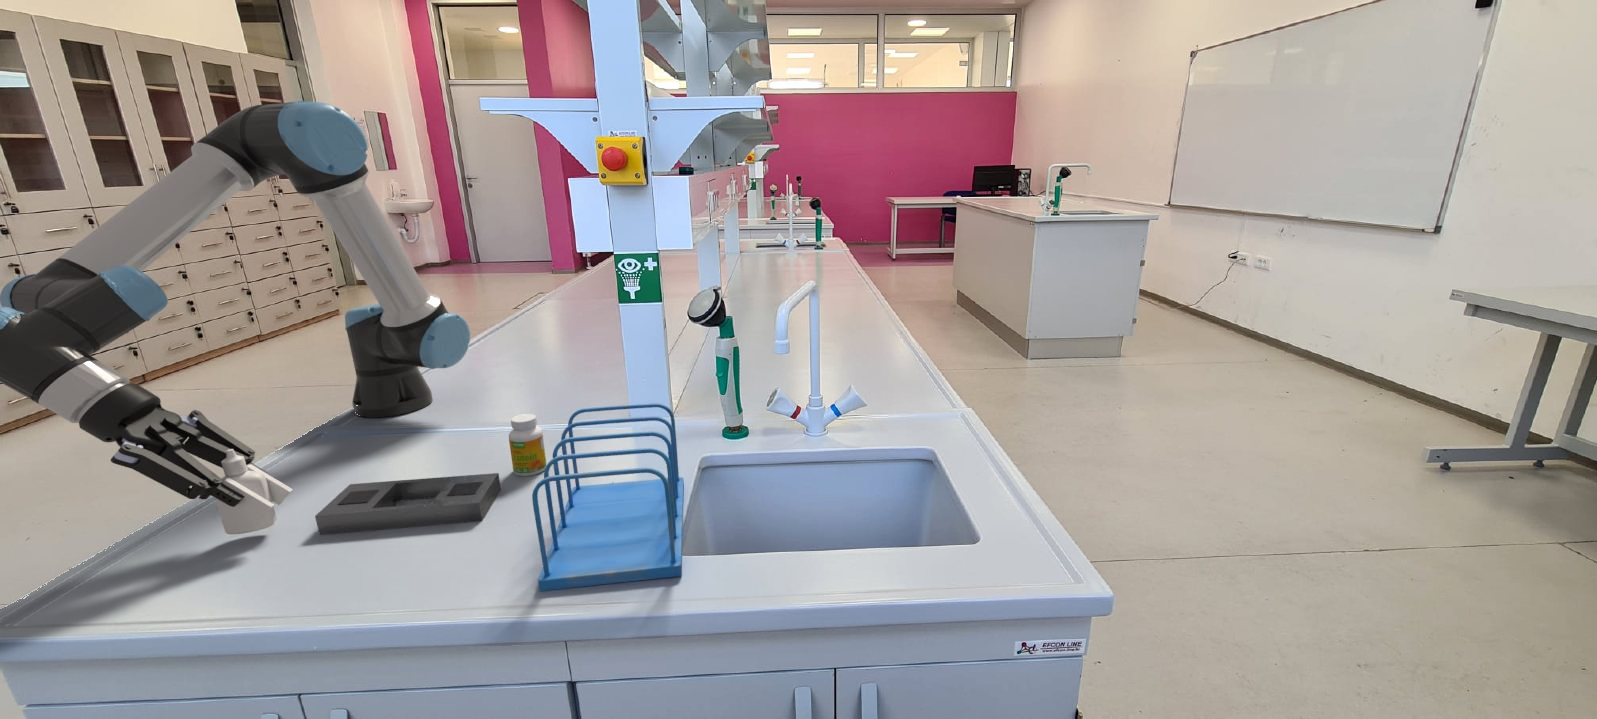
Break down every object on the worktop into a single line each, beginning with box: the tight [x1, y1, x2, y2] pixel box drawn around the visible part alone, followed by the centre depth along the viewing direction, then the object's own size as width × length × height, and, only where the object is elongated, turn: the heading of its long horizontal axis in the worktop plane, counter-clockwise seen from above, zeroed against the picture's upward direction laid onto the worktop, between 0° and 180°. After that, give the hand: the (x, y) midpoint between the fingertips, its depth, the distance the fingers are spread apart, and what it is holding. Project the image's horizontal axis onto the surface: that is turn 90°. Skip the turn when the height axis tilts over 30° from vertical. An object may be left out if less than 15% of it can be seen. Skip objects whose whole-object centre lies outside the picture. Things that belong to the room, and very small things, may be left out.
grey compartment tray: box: [314, 472, 502, 536], centre depth 99 cm, size 10×22×3 cm, turn 99°
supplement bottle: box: [508, 413, 547, 477], centre depth 111 cm, size 5×5×10 cm
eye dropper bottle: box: [214, 449, 278, 535], centre depth 90 cm, size 4×6×12 cm
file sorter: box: [531, 402, 685, 592], centre depth 91 cm, size 25×17×15 cm
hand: (276, 504), depth 92 cm, fingers closed on eye dropper bottle, 4 cm apart
